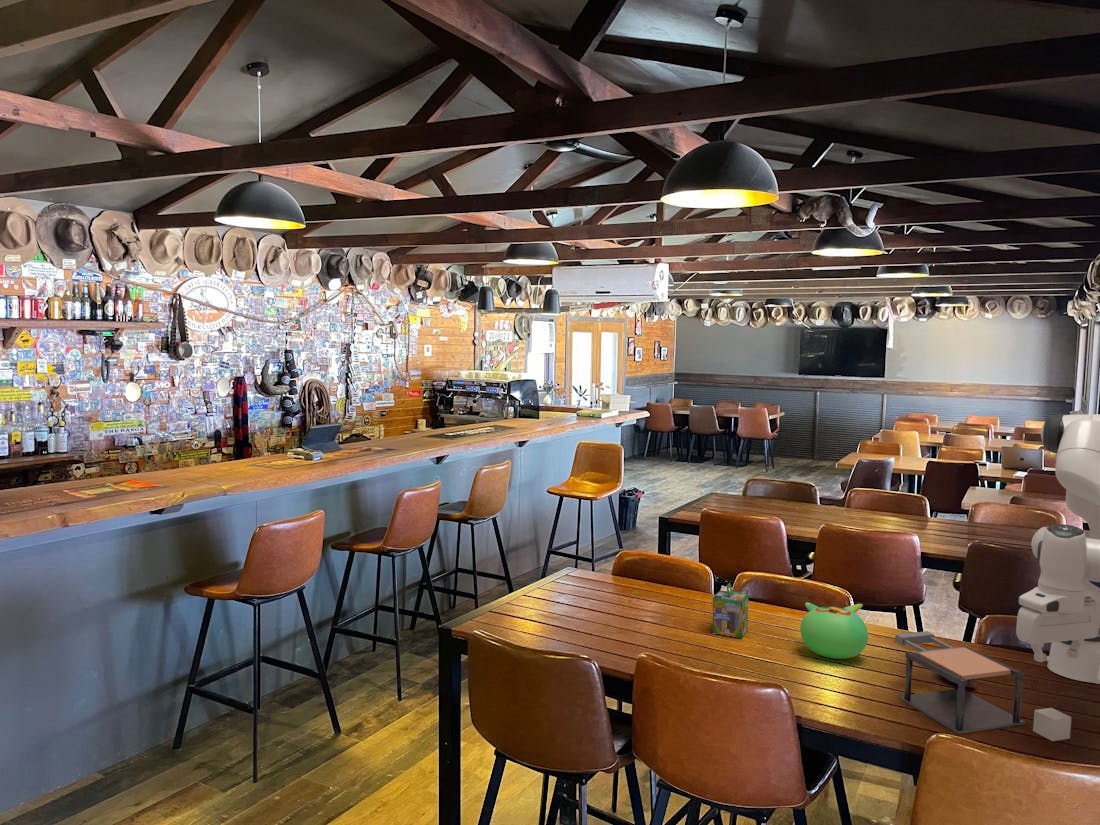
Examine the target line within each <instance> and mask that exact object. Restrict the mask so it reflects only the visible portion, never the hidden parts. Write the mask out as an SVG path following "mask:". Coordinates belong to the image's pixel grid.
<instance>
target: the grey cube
mask: <svg viewBox="0 0 1100 825" xmlns="http://www.w3.org/2000/svg"><path fill="white" fill-rule="evenodd" d="M1071 726H1072V717H1071V716H1069V715H1067V714H1065V713H1063V712H1061V711H1060V710H1057V709H1055V708H1053V707H1046V708H1040V709H1034V711H1033V726H1032V731H1033V732H1034V733H1036V734H1038V735H1039V736H1041V737H1043V738H1045V739H1047V740H1048V741H1051V742H1057V741H1063V740H1068V739H1071Z"/></svg>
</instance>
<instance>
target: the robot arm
mask: <svg viewBox="0 0 1100 825" xmlns="http://www.w3.org/2000/svg"><path fill="white" fill-rule="evenodd" d="M1040 438H1041V441H1042V442H1041V443H1042V445H1043V447H1044V448H1045V449H1046V450H1047V451H1048V452H1050V453H1053V454H1056V458H1055V466H1054V467H1055V470H1054V471H1055V477H1056V480H1057V481H1058V483H1059V484H1060V485H1061V486H1062V488H1064V489H1065V491H1066V492H1065V504H1066V507H1067V509H1068V510H1070V511H1071V513H1073V514H1074V515H1075V516H1078V517H1079V518H1081V519H1083V520H1084V521H1085V522H1086V523H1087V525H1088V526H1089V530H1087V529H1086V530H1085V529H1082V528H1080V527H1078V526H1076V525H1075V526H1074V525H1071V524H1066V523H1065V524H1064V523H1063V524H1062V523H1061V524H1060V523H1059V524H1051V525H1049V526H1042V527H1041V528H1039V529H1037V531H1035V533H1034V534H1033V536H1032V538H1031V542H1030V543H1031V545H1030V546H1031V547H1030V548H1031V550H1032V554H1033V555H1034V556H1035V558H1036V564H1037V565H1038V566H1039V568H1040V575H1039V578H1038V583H1037V586H1035V587H1034V588H1033V589H1031V590H1029V591H1027V592H1025V593H1023V594H1021V595H1020V596H1018V604H1019V605H1020V606H1021V607H1020V608H1019V609H1018V612H1017V618H1016V636H1017V638H1018V639H1019V640H1020V641H1021V642H1024V643H1025V644H1029V645H1030V646H1031V649H1032V652H1033V653H1034V654H1033V659H1034V661H1036V662H1038V663H1043V662H1047V665H1046V666H1047V668H1048V669H1049V671H1051V672H1053V673H1054V674H1057V675H1059V676H1061V677H1065V678H1068V679H1071V680H1075V681H1080V682H1083V683H1085V682H1086V683H1092V684H1097V685H1100V587H1098V586H1096V585H1095V584H1093V583H1092V582H1094V583H1095V582H1096V583H1100V414H1096V413H1092V414H1087V413H1086V414H1084V413H1083V414H1082V413H1081V414H1079V413H1078V414H1064V413H1058V414H1053V415H1052V414H1051V415H1050V416H1048V417H1047V418H1046V419H1045V420H1044V423H1043V425H1042V427H1041V430H1040ZM1048 643H1049V644H1050V643H1051V644H1050V648H1049V649H1050V650H1049V655H1047V654H1046V653H1044V652H1043V649H1042V648H1044V645H1045V644H1048Z"/></svg>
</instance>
